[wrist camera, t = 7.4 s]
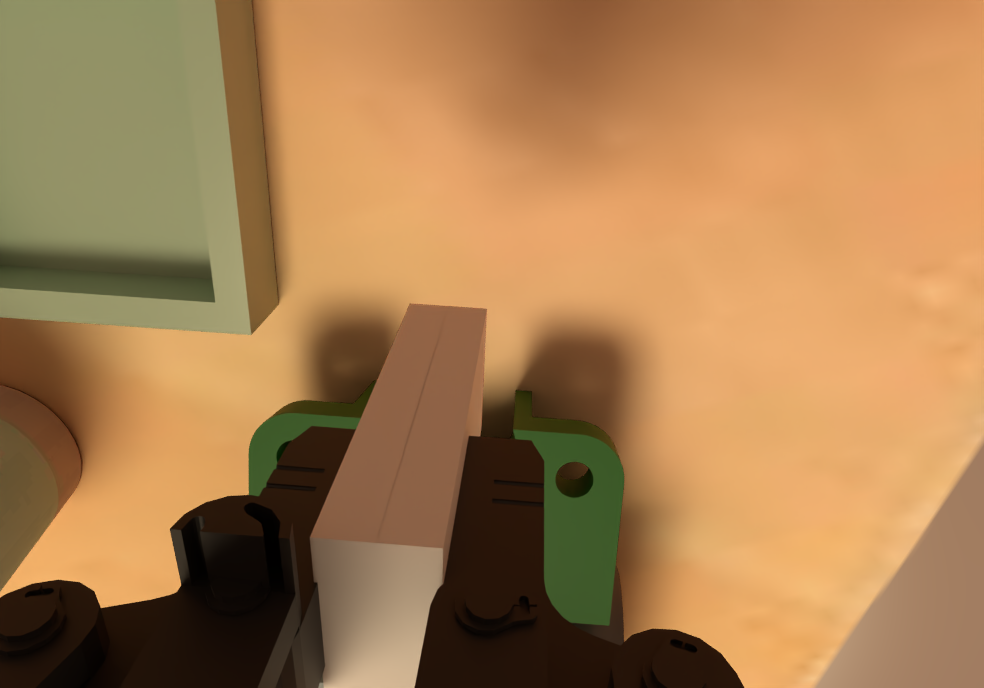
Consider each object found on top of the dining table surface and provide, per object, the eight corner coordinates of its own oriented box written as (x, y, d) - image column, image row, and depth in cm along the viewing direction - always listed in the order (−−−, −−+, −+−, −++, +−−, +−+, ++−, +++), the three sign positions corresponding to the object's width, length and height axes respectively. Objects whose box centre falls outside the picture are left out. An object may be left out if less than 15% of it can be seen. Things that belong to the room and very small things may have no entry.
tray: (-115, -61, 20) (-197, -71, 18) (247, -44, 20) (209, -50, 17) (-19, 284, 25) (-76, 312, 22) (278, 304, 24) (251, 334, 22)
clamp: (550, 364, 29) (680, 434, 21) (540, 500, 31) (658, 617, 22) (244, 371, 25) (254, 462, 17) (245, 528, 26) (254, 686, 18)
